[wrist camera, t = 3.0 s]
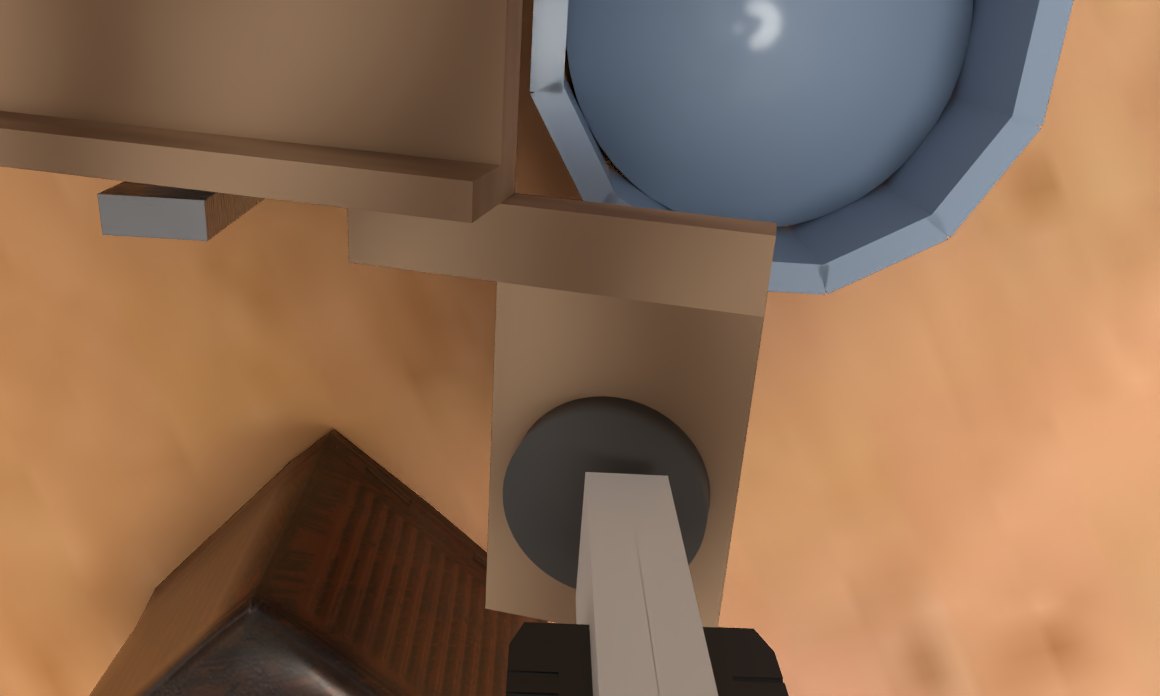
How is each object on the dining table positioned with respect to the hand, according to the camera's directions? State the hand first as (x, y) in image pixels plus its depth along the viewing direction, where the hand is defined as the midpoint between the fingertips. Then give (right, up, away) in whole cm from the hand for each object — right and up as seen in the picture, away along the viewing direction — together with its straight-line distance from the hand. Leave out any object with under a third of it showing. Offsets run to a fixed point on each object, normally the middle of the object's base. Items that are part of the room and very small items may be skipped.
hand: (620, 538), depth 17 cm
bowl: (+4, +12, +8) cm, 16 cm away
